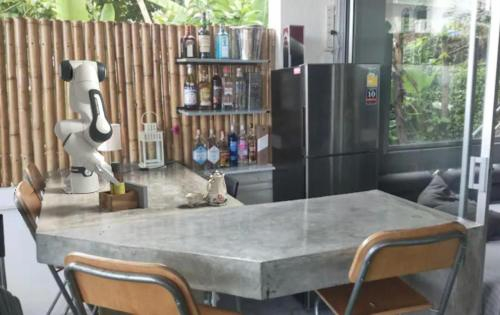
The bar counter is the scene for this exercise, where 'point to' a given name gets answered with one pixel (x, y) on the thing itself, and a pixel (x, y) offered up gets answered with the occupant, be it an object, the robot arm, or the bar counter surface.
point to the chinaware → (211, 192)
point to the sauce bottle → (118, 176)
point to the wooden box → (118, 200)
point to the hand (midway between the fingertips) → (118, 182)
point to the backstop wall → (138, 193)
